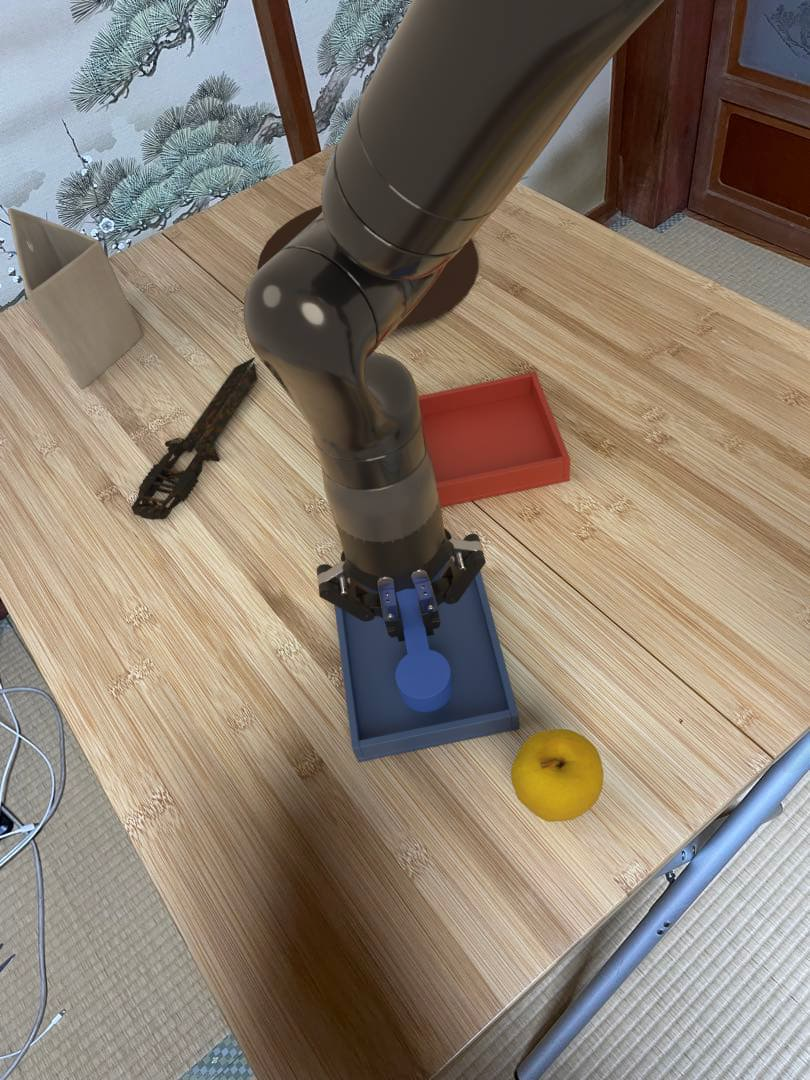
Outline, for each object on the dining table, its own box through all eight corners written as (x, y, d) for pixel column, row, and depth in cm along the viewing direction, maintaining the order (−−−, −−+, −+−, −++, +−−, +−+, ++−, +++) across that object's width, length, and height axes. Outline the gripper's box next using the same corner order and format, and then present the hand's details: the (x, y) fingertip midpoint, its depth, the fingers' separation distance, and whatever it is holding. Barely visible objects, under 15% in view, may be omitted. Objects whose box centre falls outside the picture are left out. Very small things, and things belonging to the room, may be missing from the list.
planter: (143, 375, 102) (72, 231, 86) (79, 390, 101) (-3, 249, 86) (144, 298, 112) (81, 158, 97) (86, 311, 112) (14, 173, 97)
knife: (246, 359, 101) (243, 350, 100) (291, 369, 98) (288, 360, 97) (119, 510, 88) (114, 502, 87) (167, 526, 85) (163, 518, 84)
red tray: (535, 393, 90) (535, 371, 88) (569, 480, 82) (570, 459, 79) (398, 422, 90) (394, 400, 88) (418, 512, 82) (414, 491, 80)
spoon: (384, 603, 73) (379, 587, 71) (433, 593, 73) (430, 577, 71) (403, 717, 66) (399, 703, 64) (458, 706, 66) (455, 691, 64)
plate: (442, 354, 96) (439, 328, 93) (229, 332, 105) (220, 307, 102) (502, 219, 112) (501, 193, 109) (312, 209, 120) (307, 184, 117)
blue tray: (477, 570, 77) (475, 553, 75) (519, 729, 67) (518, 714, 65) (337, 599, 77) (331, 583, 75) (358, 762, 67) (352, 749, 65)
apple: (503, 824, 62) (498, 782, 56) (526, 746, 66) (524, 699, 59) (589, 850, 60) (594, 810, 54) (608, 769, 64) (614, 723, 57)
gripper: (289, 558, 55) (340, 684, 68) (493, 516, 55) (504, 650, 68) (282, 477, 60) (331, 610, 73) (470, 437, 60) (485, 578, 73)
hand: (415, 629), depth 71 cm, fingers closed on spoon, 2 cm apart
